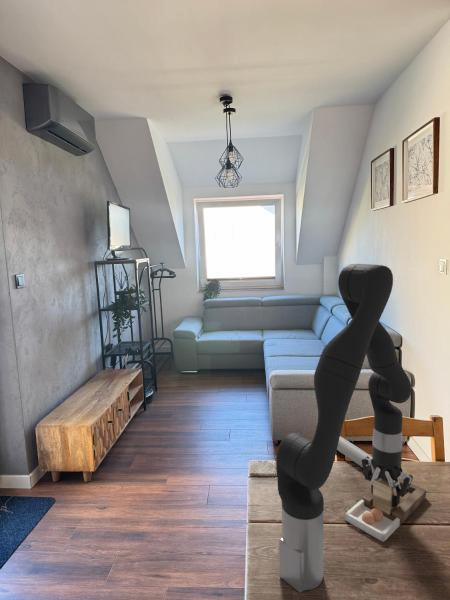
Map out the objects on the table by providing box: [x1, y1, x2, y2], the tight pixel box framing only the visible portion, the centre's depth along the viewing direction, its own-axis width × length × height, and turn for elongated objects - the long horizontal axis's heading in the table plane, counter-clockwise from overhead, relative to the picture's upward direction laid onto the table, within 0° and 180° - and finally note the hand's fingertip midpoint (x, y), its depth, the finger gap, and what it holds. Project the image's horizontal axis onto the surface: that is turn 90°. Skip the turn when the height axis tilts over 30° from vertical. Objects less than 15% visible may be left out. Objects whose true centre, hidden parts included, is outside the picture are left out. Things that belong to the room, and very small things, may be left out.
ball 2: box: [371, 508, 383, 521], centre depth 108 cm, size 3×3×3 cm
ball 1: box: [362, 512, 375, 525], centre depth 106 cm, size 3×3×3 cm
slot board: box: [361, 478, 427, 526], centre depth 115 cm, size 16×11×2 cm
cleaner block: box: [373, 478, 398, 515], centre depth 111 cm, size 4×5×8 cm
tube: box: [337, 435, 375, 474], centre depth 136 cm, size 5×5×25 cm
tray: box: [344, 499, 401, 543], centre depth 107 cm, size 8×11×2 cm
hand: (385, 500), depth 112 cm, fingers closed on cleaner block, 5 cm apart
